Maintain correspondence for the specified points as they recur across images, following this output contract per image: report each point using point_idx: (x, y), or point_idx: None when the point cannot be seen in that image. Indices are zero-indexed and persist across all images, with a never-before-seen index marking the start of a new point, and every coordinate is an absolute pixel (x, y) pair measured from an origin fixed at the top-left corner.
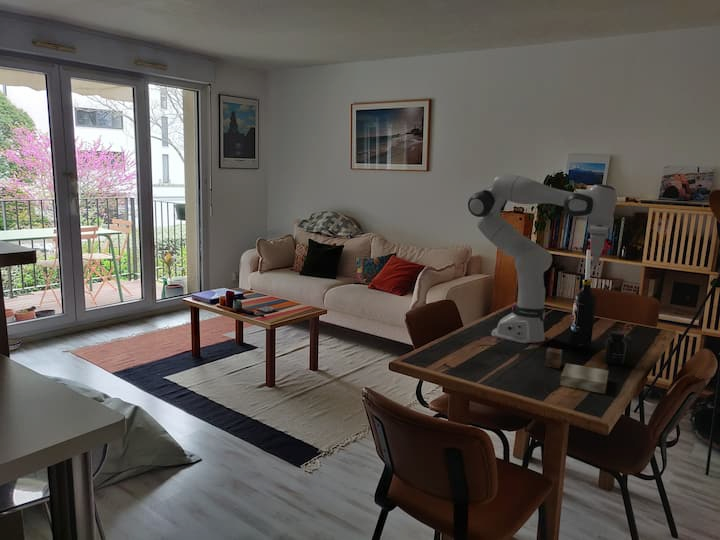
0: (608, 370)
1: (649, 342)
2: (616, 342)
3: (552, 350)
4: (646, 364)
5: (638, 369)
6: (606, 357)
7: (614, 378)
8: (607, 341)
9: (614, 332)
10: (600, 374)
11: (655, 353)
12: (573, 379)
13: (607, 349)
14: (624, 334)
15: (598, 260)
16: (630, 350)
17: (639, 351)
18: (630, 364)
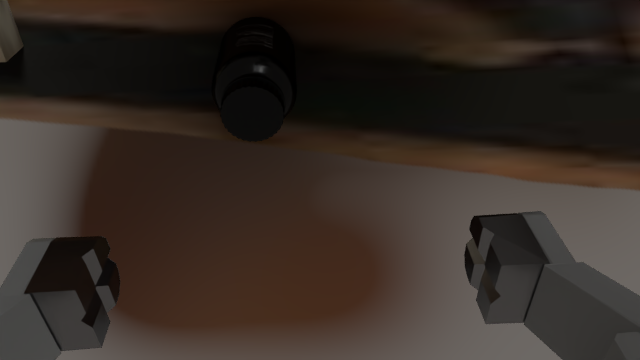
0: (5, 61)
1: (607, 149)
2: (216, 97)
3: None
4: (312, 150)
5: None
6: (230, 32)
7: (65, 67)
8: (232, 56)
9: (246, 102)
10: None
11: (464, 170)
12: None
13: (228, 46)
14: (253, 140)
15: (473, 279)
16: (466, 96)
17: (466, 124)
18: None
